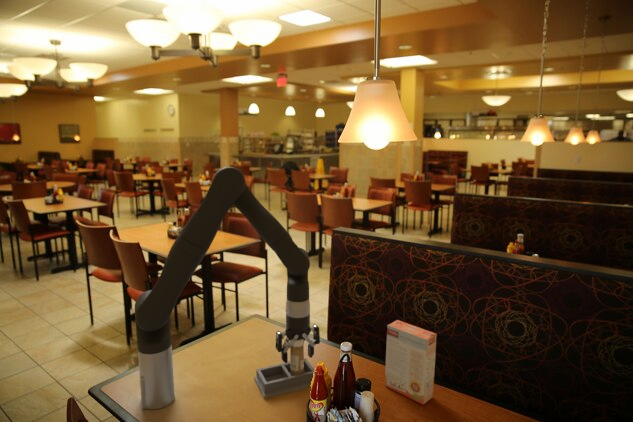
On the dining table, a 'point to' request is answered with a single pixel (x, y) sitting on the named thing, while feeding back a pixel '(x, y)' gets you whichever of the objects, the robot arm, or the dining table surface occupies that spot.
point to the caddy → (282, 379)
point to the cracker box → (410, 361)
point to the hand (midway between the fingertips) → (297, 359)
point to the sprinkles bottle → (297, 357)
